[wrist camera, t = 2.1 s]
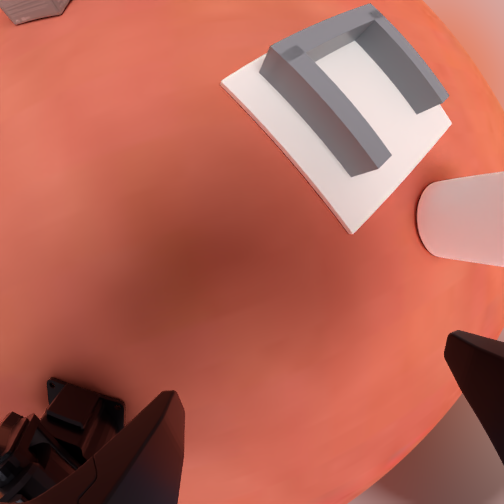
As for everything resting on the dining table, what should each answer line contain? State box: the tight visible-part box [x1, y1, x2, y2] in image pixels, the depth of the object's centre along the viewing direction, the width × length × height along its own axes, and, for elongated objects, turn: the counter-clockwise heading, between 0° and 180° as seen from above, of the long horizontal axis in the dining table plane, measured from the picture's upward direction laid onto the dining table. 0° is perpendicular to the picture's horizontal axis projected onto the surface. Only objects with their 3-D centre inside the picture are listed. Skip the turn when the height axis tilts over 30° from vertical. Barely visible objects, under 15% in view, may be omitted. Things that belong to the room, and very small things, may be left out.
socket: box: [220, 3, 452, 234], centre depth 17 cm, size 14×16×4 cm
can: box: [417, 172, 504, 267], centre depth 15 cm, size 6×6×12 cm
